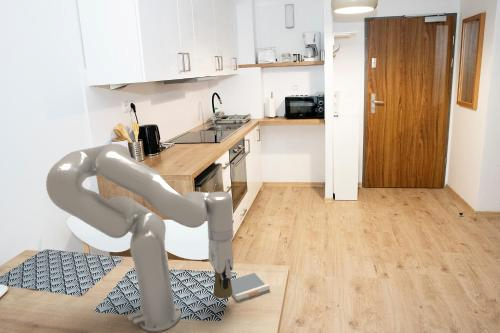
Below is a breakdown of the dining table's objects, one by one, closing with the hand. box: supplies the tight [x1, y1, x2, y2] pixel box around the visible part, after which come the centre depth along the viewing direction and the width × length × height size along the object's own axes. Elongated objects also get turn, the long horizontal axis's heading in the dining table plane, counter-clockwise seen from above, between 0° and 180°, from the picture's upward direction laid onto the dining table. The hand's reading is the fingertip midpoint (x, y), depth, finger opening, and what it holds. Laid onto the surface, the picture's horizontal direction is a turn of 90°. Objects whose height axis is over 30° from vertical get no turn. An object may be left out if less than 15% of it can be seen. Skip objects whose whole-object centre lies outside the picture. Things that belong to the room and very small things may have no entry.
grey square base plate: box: [230, 272, 271, 304], centre depth 136 cm, size 12×12×2 cm
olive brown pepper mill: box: [213, 268, 233, 300], centre depth 123 cm, size 6×6×11 cm
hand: (222, 285), depth 124 cm, fingers closed on olive brown pepper mill, 3 cm apart
